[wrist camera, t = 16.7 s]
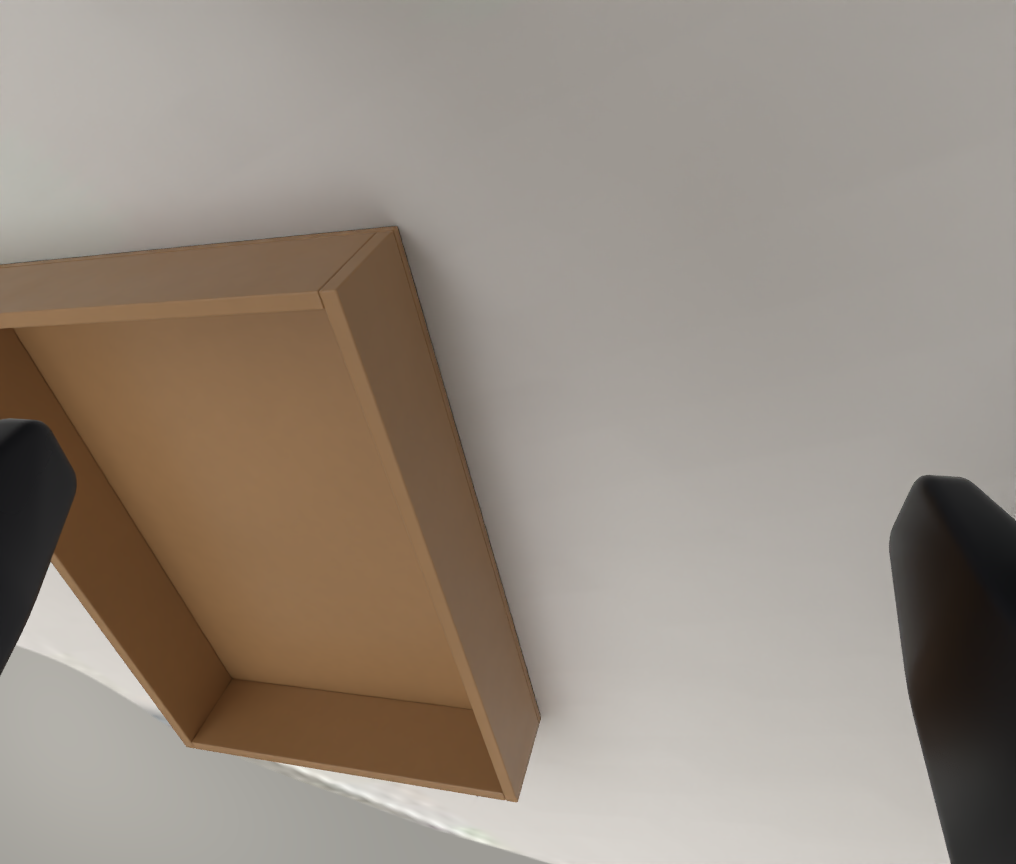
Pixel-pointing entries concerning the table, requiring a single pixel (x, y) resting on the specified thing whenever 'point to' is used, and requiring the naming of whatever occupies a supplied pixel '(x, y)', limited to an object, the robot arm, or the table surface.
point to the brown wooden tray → (275, 504)
